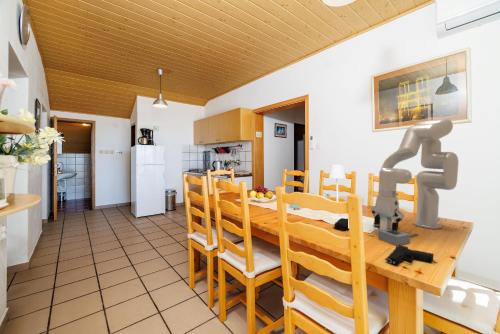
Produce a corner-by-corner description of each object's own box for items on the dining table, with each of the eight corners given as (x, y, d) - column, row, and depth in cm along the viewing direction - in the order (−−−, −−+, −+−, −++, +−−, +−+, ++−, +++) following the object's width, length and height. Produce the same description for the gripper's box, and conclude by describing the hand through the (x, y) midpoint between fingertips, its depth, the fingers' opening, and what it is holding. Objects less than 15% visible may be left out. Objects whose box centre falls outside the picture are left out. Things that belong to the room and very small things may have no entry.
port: (390, 236, 109) (391, 228, 109) (409, 242, 101) (410, 234, 101) (378, 238, 106) (378, 230, 106) (396, 245, 98) (397, 237, 98)
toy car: (357, 225, 126) (358, 217, 126) (345, 232, 115) (346, 223, 115) (344, 222, 132) (345, 214, 131) (332, 229, 120) (332, 220, 120)
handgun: (424, 277, 74) (384, 263, 83) (433, 260, 85) (397, 249, 94) (424, 268, 74) (385, 255, 83) (434, 252, 85) (398, 242, 94)
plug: (384, 232, 114) (385, 214, 113) (391, 235, 111) (392, 215, 110) (379, 233, 113) (380, 214, 112) (386, 236, 109) (387, 216, 109)
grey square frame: (383, 231, 116) (383, 227, 116) (396, 235, 110) (396, 232, 110) (375, 233, 113) (375, 229, 113) (387, 237, 107) (387, 233, 107)
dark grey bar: (415, 235, 111) (416, 234, 111) (417, 235, 110) (417, 234, 110) (401, 238, 106) (401, 237, 106) (403, 239, 106) (403, 237, 106)
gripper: (409, 196, 104) (408, 231, 105) (376, 190, 120) (375, 221, 121) (399, 197, 101) (397, 233, 102) (366, 191, 117) (365, 222, 118)
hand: (385, 226), depth 111 cm, fingers open, 9 cm apart
